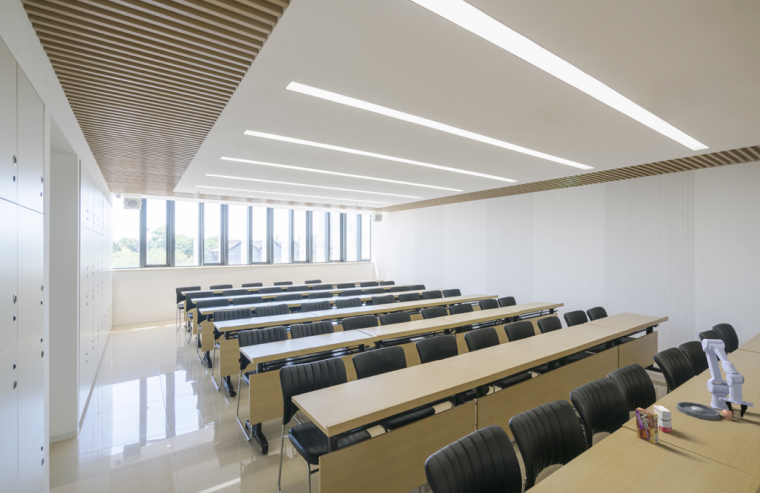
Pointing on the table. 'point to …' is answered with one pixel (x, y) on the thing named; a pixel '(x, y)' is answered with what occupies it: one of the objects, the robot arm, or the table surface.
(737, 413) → the birch bead
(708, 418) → the groove tray
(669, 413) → the ink box
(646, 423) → the candy box
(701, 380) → the table surface
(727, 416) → the terracotta bead
